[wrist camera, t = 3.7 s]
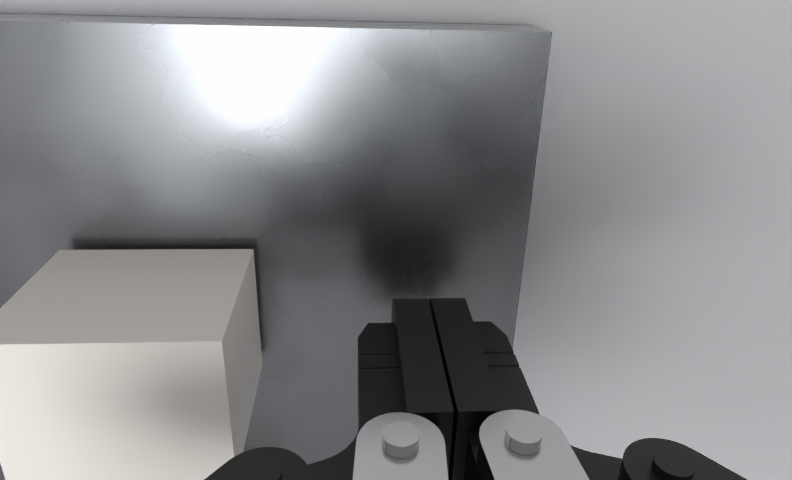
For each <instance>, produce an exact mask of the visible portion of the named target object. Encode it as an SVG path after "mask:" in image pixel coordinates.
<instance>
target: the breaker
mask: <svg viewBox="0 0 792 480" xmlns="http://www.w3.org/2000/svg"><path fill="white" fill-rule="evenodd" d="M261 369H262V353H261V340H260V327H259V314H258V301H257V288H256V275H255V262H254V249H140V250H59V251H58V252H57V253H56V254H55V255H54V256H53V257H52V258H51V259H50V260H49V261H48V262H47V263H46V264H45V265H44V266H43V267H42V268H41V269H40V270H39V271H38V272H37V273H36V274H35V275H34V276H32V277H31V278H30V279H29V280H28V281H27V282H26V283H25V284H24V285H23V286H22V287H21V288H20V289H19V290H18V291H17V292H16V293H15V294H14V295H13V296H12V297H11V298H10V299H9V300H8V301H7V302H6V303H5V304H4V305H3V306H2V307H1V308H0V464H1V467H2V470H3V474H4V477H5V480H204V479H206V478H207V477H208V476H209V475H211V474H212V473H213V472H214V471H216V470H217V469H218V468H220V467H221V466H222V465H223V464H225V463H226V462H227V461H229V460H230V459H232V458H233V457H235V456H236V455H238V454H240V453H242V452H243V450H244V446H245V441H246V437H247V432H248V428H249V423H250V419H251V414H252V410H253V405H254V401H255V396H256V392H257V387H258V383H259V378H260V374H261Z"/></svg>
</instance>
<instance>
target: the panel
mask: <svg viewBox="0 0 792 480" xmlns="http://www.w3.org/2000/svg"><path fill="white" fill-rule="evenodd" d="M551 36H552V32H549V31H547V30H544V29H541V28H538V27H535V26H533V25H503V24H458V23H414V22H369V21H324V20H280V19H235V18H190V17H146V16H101V15H56V14H12V13H0V308H1V307H2V306H3V305H4V304H5V303H6V302H7V301H8V300H9V299H10V298H11V297H12V296H13V295H14V294H15V293H16V292H17V291H18V290H19V289H20V288H21V287H22V286H23V285H24V284H25V283H26V282H27V281H28V280H29V279H30V278H31V277H32V276H34V275H35V274H36V273H37V272H38V271H39V270H40V269H41V268H42V267H43V266H44V265H45V264H46V263H47V262H48V261H49V260H50V259H51V258H52V257H53V256H54V255H55V254H56V253H57V252H58V251H59V250H140V249H254V262H255V275H256V288H257V301H258V314H259V327H260V340H261V353H262V369H261V374H260V378H259V383H258V387H257V392H256V396H255V401H254V405H253V410H252V414H251V419H250V423H249V428H248V432H247V437H246V441H245V446H244V450H243V452H245V451H248V450H251V449H255V448H261V447H278V448H283V449H287V450H290V451H292V452H294V453H296V454H297V455H299V456H300V457H301V458H302V459H303V460H304V461H305V462H306V464H307V465H308V464H311V463H315V462H318V461H321V460H324V459H327V458H330V457H332V456H334V455H336V454H338V453H340V452H341V451H343V450H344V449H345V448H347V447H348V446H349V445H350V444H351V443H352V441H353V440H354V439H355V437H356V435H357V433H358V337H359V335H360V334H361V332H362V331H363V329H364V328H365V326H366V325H367V324H368V323H391V315H392V300H393V299H418V298H427V299H428V301H429V299H430V298H465V299H466V302H467V304H468V307H469V310H470V313H471V316H472V319H473V322H475V321H491V322H492V323H493V324H494V325H496V326H497V327H498V328H499V329H500V330H501V331H502V332H504V333H505V334H506V335H507V337H508V340H509V342H510V344H511V347H513V339H514V331H515V323H516V315H517V307H518V299H519V291H520V284H521V276H522V268H523V260H524V252H525V244H526V236H527V228H528V220H529V212H530V204H531V196H532V188H533V180H534V172H535V164H536V156H537V148H538V140H539V132H540V124H541V116H542V108H543V100H544V92H545V84H546V76H547V68H548V60H549V52H550V44H551ZM0 480H5V477H4V474H3V470H2V467H1V464H0Z"/></svg>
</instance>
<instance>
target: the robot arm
mask: <svg viewBox="0 0 792 480" xmlns="http://www.w3.org/2000/svg"><path fill="white" fill-rule="evenodd" d="M204 480H747V479H745V478H743V477H741V476H740V475H738V474H736V473H734V472H732V471H731V470H729V469H727V468H725V467H723V466H722V465H720V464H718V463H716V462H714V461H713V460H711V459H709V458H707V457H705V456H704V455H702V454H700V453H698V452H697V451H695V450H693V449H691V448H689V447H687V446H685V445H682V444H680V443H677V442H674V441H670V440H666V439H660V438H646V439H641V440H638V441H635V442H633V443H632V444H630V445H629V446H628V447H627V448H626V450H625V452H624V455H623V459H620V458H615V457H611V456H606V455H601V454H597V453H592V452H588V451H585V450H581V449H579V448H576V447H574V446H571V445H570V444H569V442H568V440H567V438H566V437H565V435H564V433H563V432H562V431H561V429H560V428H559V427H558V426H557V425H556V424H554V423H553V422H552V421H550V420H549V419H547V418H545V417H543V416H541V415H540V414H539V412H538V409H537V407H536V404H535V402H534V400H533V397H532V395H531V392H530V390H529V388H528V385H527V383H526V380H525V378H524V376H523V373H522V371H521V368H519V364H518V361H517V359H516V356H515V355H514V354H513V349H512V347H511V344H510V342H509V340H508V337H507V335H506V334H505V333H504V332H502V331H501V330H500V329H499V328H498V327H497V326H496V325H494V324H493V323H492V322H491V321H475V322H473V319H472V316H471V313H470V310H469V307H468V304H467V302H466V299H465V298H430V299H429V301H428V299H427V298H418V299H393V300H392V315H391V323H368V324H367V325H366V326H365V328H364V329H363V331H362V332H361V334H360V335H359V337H358V433H357V435H356V437H355V439H354V440H353V441H352V443H351V444H350V445H349V446H348V447H347V448H345V449H344V450H343V451H341V452H340V453H338V454H336V455H334V456H332V457H330V458H327V459H324V460H321V461H318V462H315V463H311V464H308V465H307V464H306V462H305V461H304V460H303V459H302V458H301V457H300V456H299V455H297V454H296V453H294V452H292V451H290V450H287V449H283V448H278V447H261V448H255V449H251V450H248V451H245V452H242V453H240V454H238V455H236V456H235V457H233V458H232V459H230V460H229V461H227V462H226V463H225V464H223V465H222V466H221V467H220V468H218V469H217V470H216V471H214V472H213V473H212V474H211V475H209V476H208V477H207V478H206V479H204Z"/></svg>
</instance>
